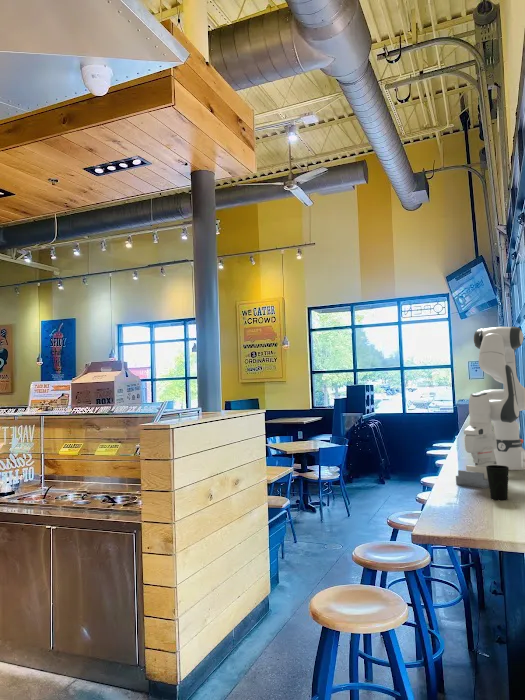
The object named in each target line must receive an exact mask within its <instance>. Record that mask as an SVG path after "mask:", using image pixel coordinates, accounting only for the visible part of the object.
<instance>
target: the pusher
mask: <svg viewBox="0 0 525 700" xmlns="http://www.w3.org/2000/svg"><path fill="white" fill-rule="evenodd" d="M465 467H466V469H465V471H471V472H479V473H484V478H485V479H487V478H488V476H487V469H486V467H479V466H475V465H465Z"/></svg>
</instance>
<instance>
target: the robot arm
mask: <svg viewBox="0 0 525 700" xmlns="http://www.w3.org/2000/svg"><path fill="white" fill-rule="evenodd" d="M523 342H524V333H523V331H522V329H521V328H520V327H518V326H496V327H495V326H494V327H486V328H483V327H482V328H479V329H477V330H476V331H474V333H473V343H474V347H476V348H477V349H478V350H479V354H478V366H479V368H480V369H481V371H482V372H484V373H485V374H487V375H489V376H491V377H492V379H494V381H496V382H498V383H500V384H503V388H501V389H499V388H497V389H485V390H481V391H477V392H473V393H470V395H469V399H468V415H469V425H468V426H467V427H466V428H465V429H464V430H463V435H465V436H464V448H465V449H464V450H465V451H466V452H467V453H469V454H470V455H471V457H472V460H473V461H472V462H473V463H474V464H475V463H479V459H478V457H477V455H478V452H482V450H483V449H485V448H487V447H491V446H492V447H493V450H494V454H495V458H496V463H497V465H501V466H507V467H509V470H508V471H510V470H511V471H516V470H517V471H519V470H520V471H521V470H522V471H523V470H525V449H524V448H523V447H522V446H523V443H524V439H522V438H520V428H519V427H520V426H519V424H518V422H517V421H516V420H517V419H518V418H519V417H520V412H522V411H525V386H523V384H521V383H520V380H519V378H518V375H517V365H516V353H515V351H517V349H519V348H520V347H522V345H523ZM492 425H493V427H492Z"/></svg>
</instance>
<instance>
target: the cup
mask: <svg viewBox="0 0 525 700" xmlns="http://www.w3.org/2000/svg"><path fill="white" fill-rule="evenodd" d="M486 469H487V476H488V482H489V488H488V489H489V495H490V499H491V500H492V499H493V501H498V500H500V501H501V502H503V501H507V500H508V498H509V497H508V493H509V492H508V491H509V471H510V470H509V467H507V466H501V465H489V466H486ZM500 501H499V502H500Z"/></svg>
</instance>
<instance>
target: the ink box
mask: <svg viewBox="0 0 525 700" xmlns="http://www.w3.org/2000/svg"><path fill="white" fill-rule="evenodd" d="M477 457H478V459H479V463H474V464H475V465H474V466H479V467H486V466H489V465H497V463H496V458H495V454H494V450H493V447H492V446H491V447H487V448H485V449H483V450H482V452H478V455H477Z"/></svg>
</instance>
